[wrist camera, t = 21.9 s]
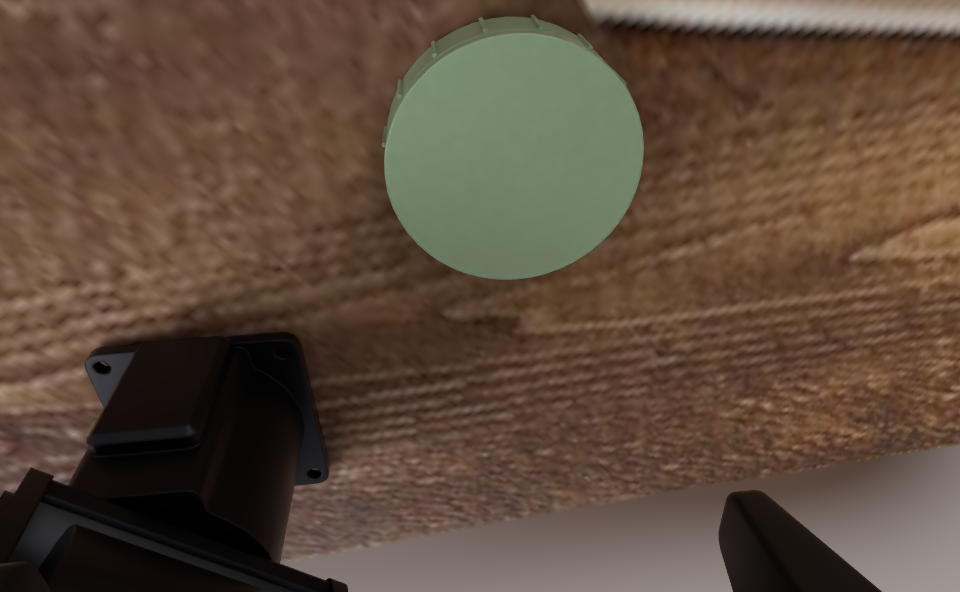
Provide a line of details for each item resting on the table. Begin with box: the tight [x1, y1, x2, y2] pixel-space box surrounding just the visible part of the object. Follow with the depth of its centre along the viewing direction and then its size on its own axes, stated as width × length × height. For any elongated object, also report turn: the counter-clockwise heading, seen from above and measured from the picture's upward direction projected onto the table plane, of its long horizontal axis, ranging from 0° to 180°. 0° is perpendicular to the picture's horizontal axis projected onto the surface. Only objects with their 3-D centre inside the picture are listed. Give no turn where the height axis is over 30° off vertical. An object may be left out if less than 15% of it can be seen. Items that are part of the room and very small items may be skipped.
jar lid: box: [382, 15, 644, 280], centre depth 18 cm, size 7×7×2 cm
